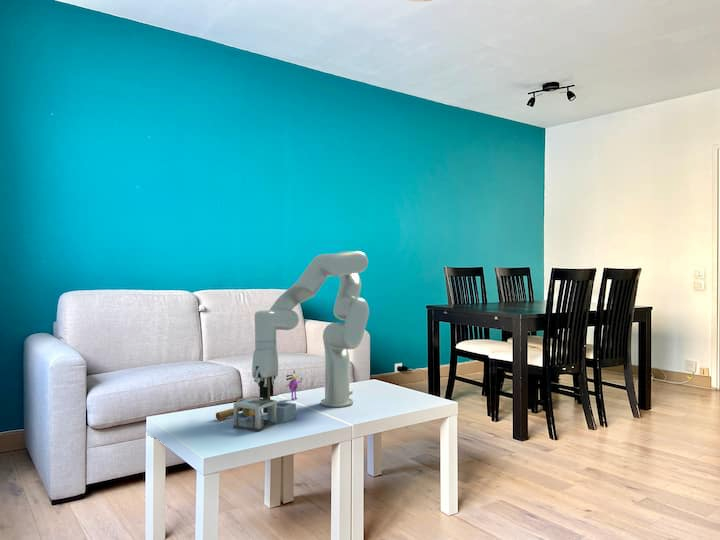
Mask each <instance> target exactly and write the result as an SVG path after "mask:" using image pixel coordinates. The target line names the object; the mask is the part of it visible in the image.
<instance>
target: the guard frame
mask: <svg viewBox="0 0 720 540" xmlns="http://www.w3.org/2000/svg"><path fill="white" fill-rule="evenodd" d="M251 397H252V398H251ZM251 397H249V398H246V399H243V401H240V402H236V401H235V402H234V403H233V408H234V415H233V420H232V421H233V423H232V425H233V429H239V430H245V431H250V432H256V433H259V432H261V431H264V430H266V429H269V428H271V427H274V426H276V425H277V422H276V413H277V402H278V401H277V400H276V399H271V398H270V399H263V398H260V397H259V398H254V396H251ZM255 403H257V404H255ZM271 405H272V408H271V420H267V419H263V418H262V417H261V415H262V410H263V408H265V407H268V406H271ZM239 407H241V408H248V409H250V410H255V418H253V415H250V417H249V418H247V419H246V420H242V421H240V420H239V419H240V416H239V415H240V412H239Z"/></svg>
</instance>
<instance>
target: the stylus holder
mask: <svg viewBox="0 0 720 540" xmlns="http://www.w3.org/2000/svg"><path fill="white" fill-rule="evenodd" d="M271 408H272V405H271V406H268V413H267V419H266V420H271ZM296 413H297V403H294V402H293V403H292V402H286V401H285V402H284V401H277V413H276V423H282V424H285V423H287V422H291V421H292V420H294V419H296V418H297V415H296Z"/></svg>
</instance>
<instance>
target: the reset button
mask: <svg viewBox="0 0 720 540" xmlns="http://www.w3.org/2000/svg"><path fill="white" fill-rule="evenodd" d="M249 415H253V418H255V410H250V411H249Z"/></svg>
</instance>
